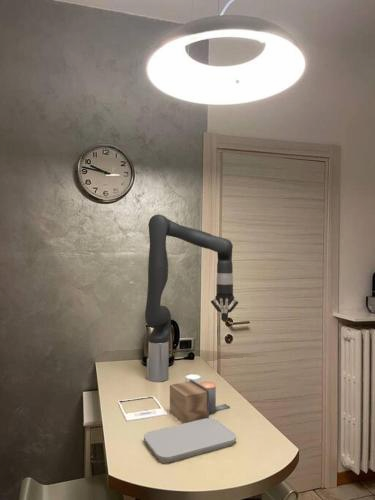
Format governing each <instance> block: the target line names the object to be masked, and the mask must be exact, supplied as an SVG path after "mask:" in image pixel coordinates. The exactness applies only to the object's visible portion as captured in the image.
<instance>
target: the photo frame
mask: <svg viewBox="0 0 375 500" xmlns="http://www.w3.org/2000/svg"><path fill="white" fill-rule="evenodd" d="M149 397H150V398H153V399H152V400H154V402H155V403H156V405H157V406H158V407H159V408H155V409H149V410H143V411H136V412H130V413H129V412H128V413H126V412H125V410H124V408H123V405H122V404H121V402H119V401H123V402H129V401H136V400H143V399H150V398H149ZM142 398H143V399H142ZM128 400H129V401H128ZM116 402H117V404H118V406H120V407H119V408H120V411H121V413H122V415H123V417H124V419H125V421H126V423H130V422H135V421H141V420H147V419H154V418H160V417H167V416H168V413H167V411H166V410H165V409H164V407H163V406H162V405H161V403H160V402H159V401H158V399H157V398H156V397H155V395H149V396H144V397H143V396H142V397H136V398H128V399H123V400H117V401H116Z"/></svg>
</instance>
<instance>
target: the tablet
mask: <svg viewBox="0 0 375 500" xmlns="http://www.w3.org/2000/svg"><path fill="white" fill-rule="evenodd" d="M236 439H237V435H236V434H235V432H233V431H232V430H231V429H230V428H228V427H227V426H226V425H224V424H223V423H222V422H220V421H219V420H218V419H215V418H212V417H209V418H206V419H201V420H197V421H192V422H188V423H184V424H183V423H180V424H176V425H171V426H167V427H163V428H158V429H154V430H150V431H147V432H145V433H144V435H143V440H144V442H145V444H146V445H147V447H148V448H149V449H150V450H151V451H152V453H153V454H154V455H155V457H156V458H157V460H158V461H160V462H161V463H164V464H165V463H166V464H167V463H172V462H175V461H176V462H177V461H180V460H183V459H187V458H191V457H194V456H198V455H202V454H204V453H208V452H212V451H215V450H219V449H223V448H226V447H229V446H232V445H233V444H234V442H235V441H236Z"/></svg>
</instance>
